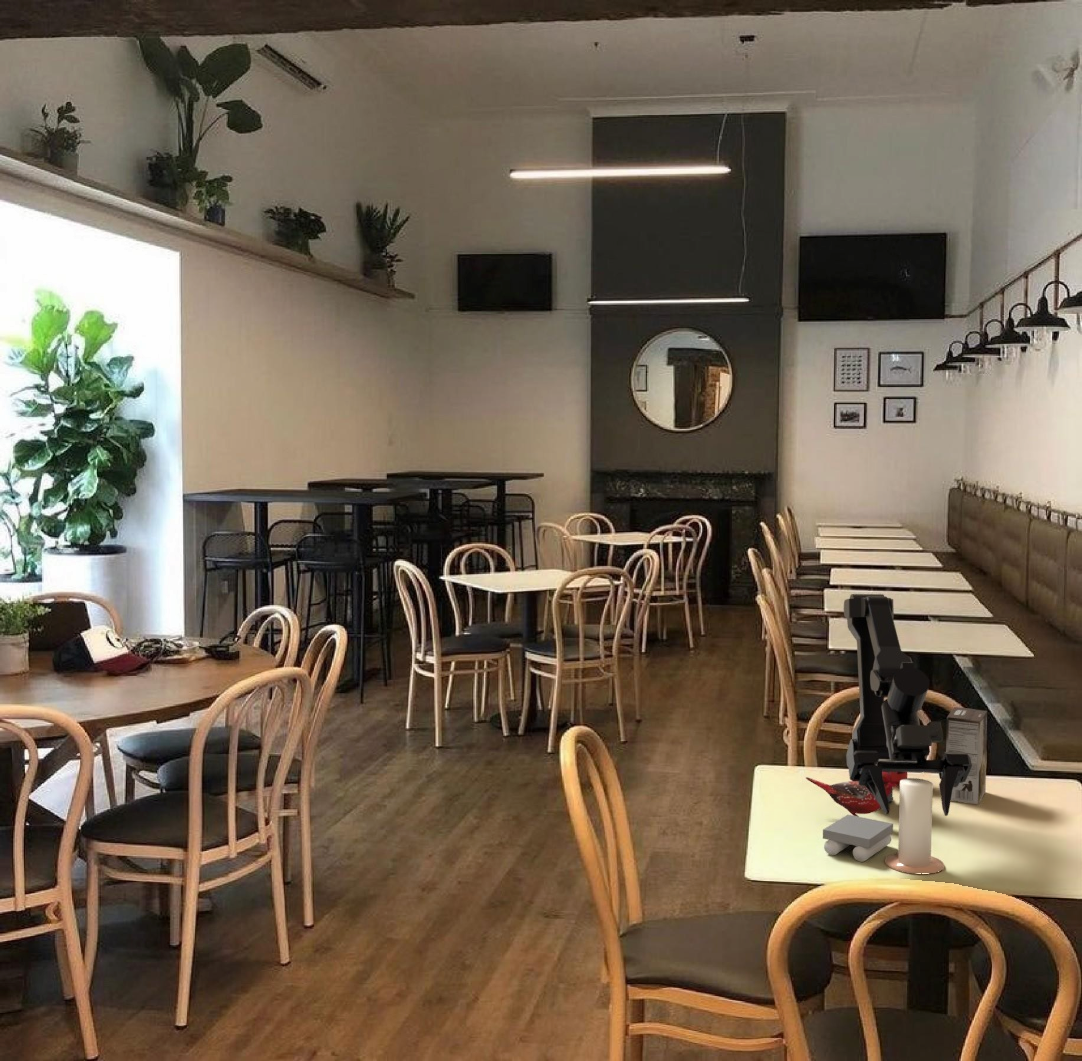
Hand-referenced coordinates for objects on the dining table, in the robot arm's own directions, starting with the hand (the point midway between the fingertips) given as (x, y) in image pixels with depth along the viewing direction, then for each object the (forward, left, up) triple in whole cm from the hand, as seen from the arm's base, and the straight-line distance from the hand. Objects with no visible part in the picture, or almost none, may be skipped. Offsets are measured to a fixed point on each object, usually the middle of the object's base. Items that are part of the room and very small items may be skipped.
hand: (917, 813), depth 194 cm
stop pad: (-1, +1, -9) cm, 9 cm away
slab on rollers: (-11, +2, -9) cm, 14 cm away
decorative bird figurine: (-18, +16, -9) cm, 26 cm away
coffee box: (-7, +43, -9) cm, 44 cm away
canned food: (-23, +44, -9) cm, 50 cm away
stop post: (-1, +1, -8) cm, 8 cm away
